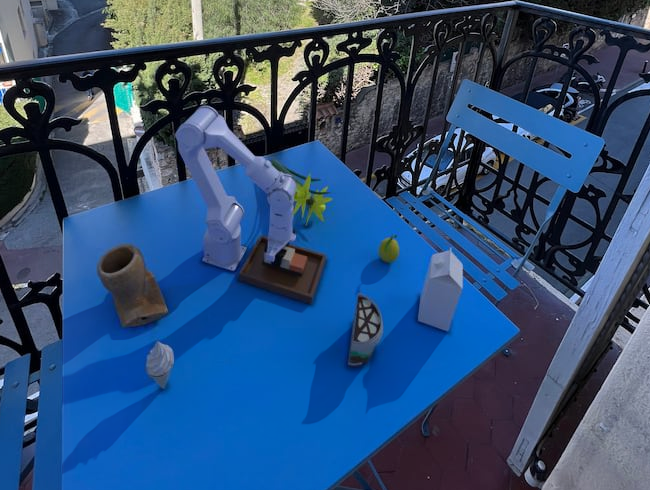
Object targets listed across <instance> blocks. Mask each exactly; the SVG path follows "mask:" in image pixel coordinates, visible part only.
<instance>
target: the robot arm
mask: <svg viewBox="0 0 650 490" xmlns="http://www.w3.org/2000/svg"><path fill="white" fill-rule="evenodd" d="M174 137H175V139H176V141H177V150H178V152H179V155H180V156H181V158H182V160H183V162H184V164H185V166H186V168H187V170H188V172H189V175H190V176H191V178H192V180H193V183H195V185H196V188H197V190H198V192H199V193H200V195H201V197H202V199H203V201H204V203H205V205H206V207H207V212H206V217H205V218H206V219H205V223H206V225H207V228H206V230H205V232H204V236H203V240H202V244H203V245H202V247H203V258H202V262H204V263H207V264H210V265H212V266H215V267H218V268H222V269H225V270H228V271H231V272H235V271H236V269H237V268H238V266H239V264H240V262H241V261H242V259H243V257H244V255H245V254H246V252H247V248H248V247H245V246H242V226H241V220H242V219H243V218H244V216H245V209H244V208H243V205H242V204H240V203H239V202H238V201H237V199H236V197H235V196H232V195H230V196H229V195H227V192H226V190H225V189H224V186H223V184H222V182H221V180H220V178H219V176H218V174H217V172H216V170H215V168H214V166H213V164H212V162H211V160H210V158H209V155H208V153H207V151H206V150H207V149H213V148H214V149H215V148H219V149H221V150H222V151H223V152H225V154H227V155H228V156H230V157H231V158H232V159H233V160H234V161H236V162H237V163H239V164H240V165H241V166H243V167H244V170H245V175H246V177H248V179H250V180H251V181H252V182H253V183H254V184H255V185H256V186H258V188H260V189H261V190H262V191H263V192H264V194H266V195H267V196H266V199H267V202H268V204H269V226H268V227H269V228H268V229H269V230H268V233H267V237H268V243H266V245H265V247H264V252H265V253H266V260H268V261H271V264H272V266H274V267H277V268H279V267H280V265H281V262H282V258H283V257H284V256H285V254H286V252H287V250H286V249H282V248H283V247H284V246H286V247H288V246H289V244H291V243H294V242H295V241H296V239H297V234H296V229H295V228H293V222H294V217H293V208H295V203H294V202H295V201H294V194H295V192H296V189H297V182H296V180H295V179H294V178H293V176H291V175H289V174H284V173H282V172H280V171H278V170H277V169H276V168H275V167H273V166H272V162H271V161H269V160H268V159H266V158H265V157H264V156H257V155H254V153H252V151H250V149H249V148H248V147H247V146H246V145H245V144H244V142H242V140H240V139H239V137H238V136H236V134H235V133H233V131H232V130H231V129H230V128H229V126H228V124H227V122H226V119H225V118H224V116H222V115H220V114H219V113H218V111H217V110H216V109H215V108H214V107H211V106H210V105H201V106H199V107H198V108H197V109H196V110H195V112H194V113H193V114H192V115H191V116H189V118H187V120H185V121H184V122H183V123H182V124H181V125H180V126H178V128H177V130H176V132H175V134H174ZM293 204H294V205H293Z"/></svg>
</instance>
